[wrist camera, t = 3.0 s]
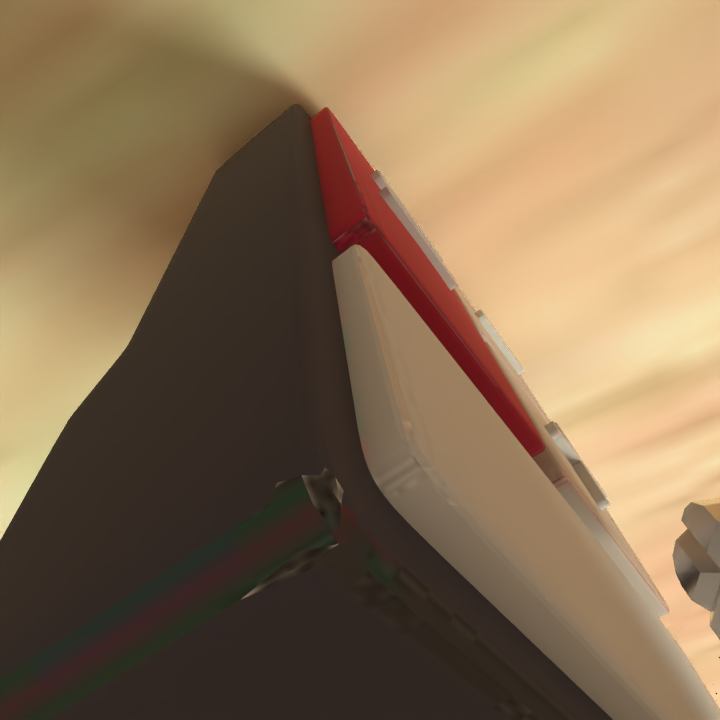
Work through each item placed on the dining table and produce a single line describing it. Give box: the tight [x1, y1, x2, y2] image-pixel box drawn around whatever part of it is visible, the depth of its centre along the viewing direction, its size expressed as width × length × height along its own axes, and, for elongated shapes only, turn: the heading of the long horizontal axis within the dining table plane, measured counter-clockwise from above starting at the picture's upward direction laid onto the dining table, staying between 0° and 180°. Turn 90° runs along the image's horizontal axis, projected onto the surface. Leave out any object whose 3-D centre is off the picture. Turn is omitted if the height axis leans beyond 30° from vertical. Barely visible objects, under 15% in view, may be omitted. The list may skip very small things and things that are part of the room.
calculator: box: [0, 104, 720, 720], centre depth 12 cm, size 11×4×15 cm, turn 37°
